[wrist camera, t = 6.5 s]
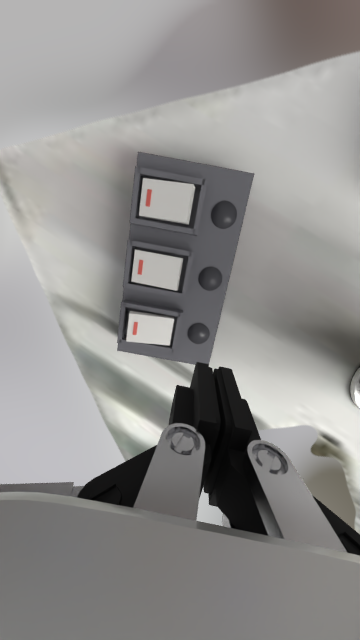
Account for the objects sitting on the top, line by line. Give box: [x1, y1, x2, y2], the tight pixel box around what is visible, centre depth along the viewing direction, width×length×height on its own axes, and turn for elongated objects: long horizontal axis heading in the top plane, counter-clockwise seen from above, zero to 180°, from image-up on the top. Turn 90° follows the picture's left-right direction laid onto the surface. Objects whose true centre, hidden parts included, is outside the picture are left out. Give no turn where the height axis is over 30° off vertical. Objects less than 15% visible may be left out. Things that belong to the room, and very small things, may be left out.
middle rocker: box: [131, 250, 183, 291], centre depth 29 cm, size 6×4×1 cm, turn 80°
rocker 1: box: [139, 178, 195, 224], centre depth 26 cm, size 6×4×1 cm, turn 80°
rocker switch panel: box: [117, 152, 254, 366], centre depth 31 cm, size 14×26×6 cm, turn 170°
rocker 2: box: [126, 311, 174, 346], centre depth 31 cm, size 6×4×1 cm, turn 80°
